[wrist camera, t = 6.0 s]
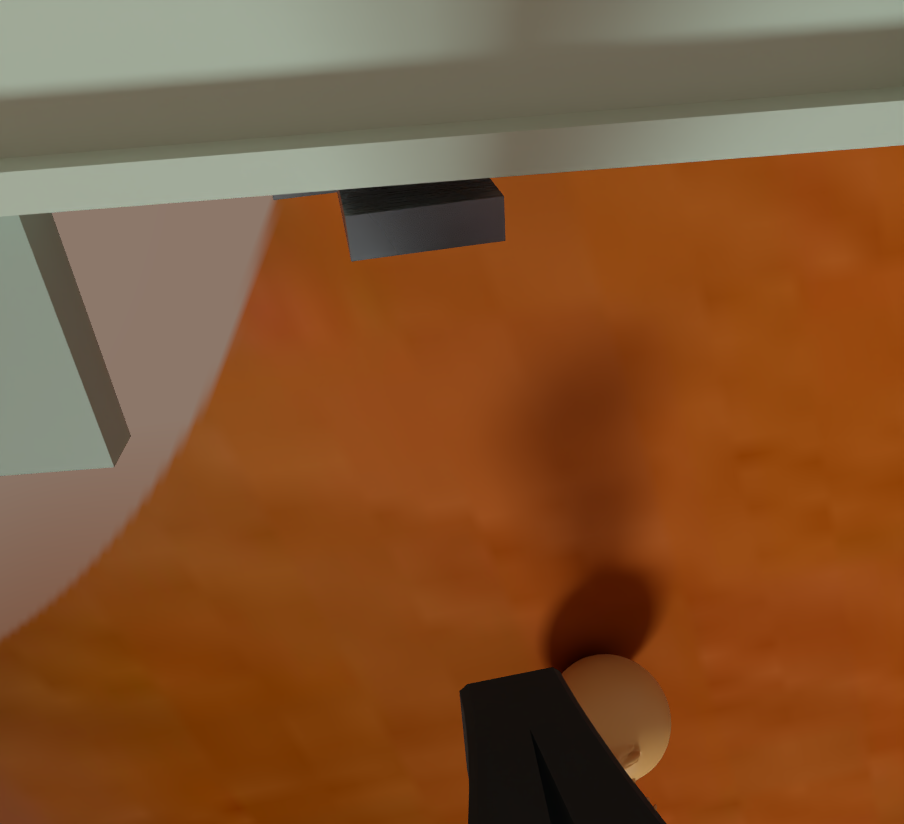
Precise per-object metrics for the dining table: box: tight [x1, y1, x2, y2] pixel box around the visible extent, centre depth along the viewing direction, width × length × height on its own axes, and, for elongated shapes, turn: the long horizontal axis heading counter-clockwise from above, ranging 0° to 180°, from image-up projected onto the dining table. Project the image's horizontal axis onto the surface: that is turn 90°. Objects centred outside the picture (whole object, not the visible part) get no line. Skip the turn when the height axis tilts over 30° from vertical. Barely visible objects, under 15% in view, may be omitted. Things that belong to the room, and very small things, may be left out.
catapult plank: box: [0, 0, 904, 476], centre depth 11 cm, size 18×10×2 cm, turn 94°
